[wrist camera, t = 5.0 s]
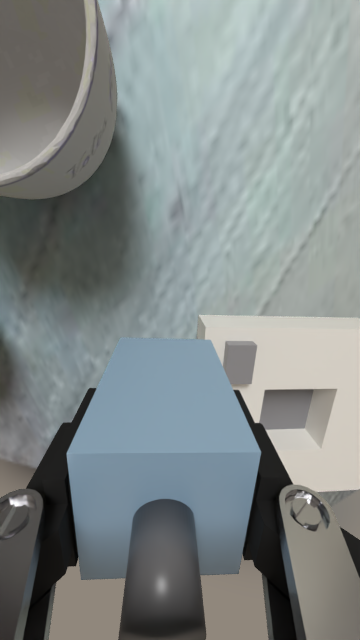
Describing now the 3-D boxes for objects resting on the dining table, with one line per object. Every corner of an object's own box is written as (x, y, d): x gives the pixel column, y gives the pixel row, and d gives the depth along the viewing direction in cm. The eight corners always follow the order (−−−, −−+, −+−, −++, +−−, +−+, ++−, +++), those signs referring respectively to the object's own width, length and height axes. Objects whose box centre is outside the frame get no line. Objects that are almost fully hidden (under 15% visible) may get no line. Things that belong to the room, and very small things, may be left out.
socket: (380, 318, 22) (425, 333, 18) (337, 462, 26) (365, 497, 23) (198, 314, 20) (208, 331, 16) (187, 469, 25) (192, 508, 21)
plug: (210, 339, 13) (306, 553, 4) (203, 414, 14) (264, 692, 5) (120, 337, 12) (15, 563, 4) (122, 413, 14) (49, 707, 5)
